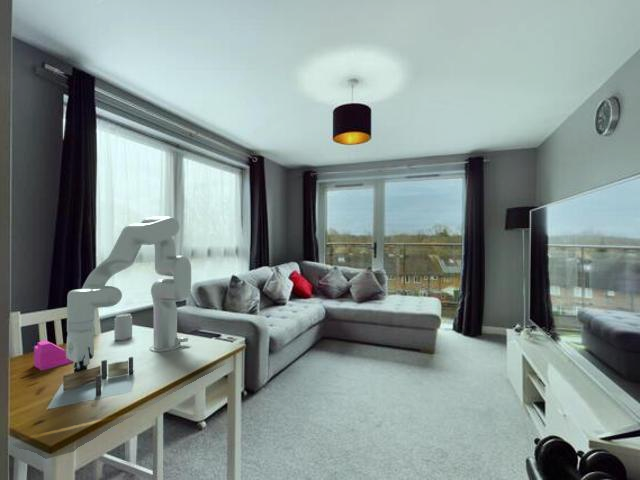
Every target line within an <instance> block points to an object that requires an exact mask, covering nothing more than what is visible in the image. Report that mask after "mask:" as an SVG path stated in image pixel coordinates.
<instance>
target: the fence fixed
mask: <svg viewBox="0 0 640 480" xmlns="http://www.w3.org/2000/svg"><path fill="white" fill-rule="evenodd" d="M100 363H101V365H100V366H101V375H97V376H96V396H100V395H101V380H105V379H107V375H108V378H110V377H115V376H121V375H126V374H128V371H129V375H132V374H133V370H134V356H129V357H128V360H122V361H115V362H109V363H108V360H107V359H104V360H101V362H100Z"/></svg>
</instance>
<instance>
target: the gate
mask: <svg viewBox="0 0 640 480" xmlns="http://www.w3.org/2000/svg"><path fill="white" fill-rule="evenodd" d="M97 375H101V365H97V366H93V367H89V368H87V369H86V370H82V371H79V372H75V373H74V372H72V373H69V374H65V375H63V376H62V377H63V378H62V383H63V391H67V390H70V389H73V388H76V387H80V386H83V385H86V384H89V383H92V382H95V381H96V376H97Z"/></svg>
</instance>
